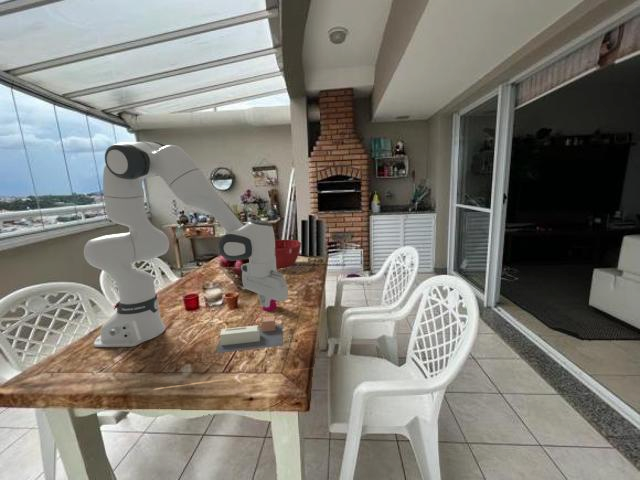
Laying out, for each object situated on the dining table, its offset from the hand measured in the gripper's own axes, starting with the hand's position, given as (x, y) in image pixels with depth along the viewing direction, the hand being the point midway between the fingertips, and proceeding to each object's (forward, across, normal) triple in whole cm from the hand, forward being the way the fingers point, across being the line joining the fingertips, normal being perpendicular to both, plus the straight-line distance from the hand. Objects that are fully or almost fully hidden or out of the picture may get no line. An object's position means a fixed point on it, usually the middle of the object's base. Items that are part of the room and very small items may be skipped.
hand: (265, 305), depth 99 cm
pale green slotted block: (+12, +6, +7) cm, 15 cm away
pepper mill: (+13, +19, -17) cm, 29 cm away
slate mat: (+12, +4, +4) cm, 14 cm away
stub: (+12, +4, -4) cm, 14 cm away
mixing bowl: (+14, +65, -66) cm, 94 cm away
